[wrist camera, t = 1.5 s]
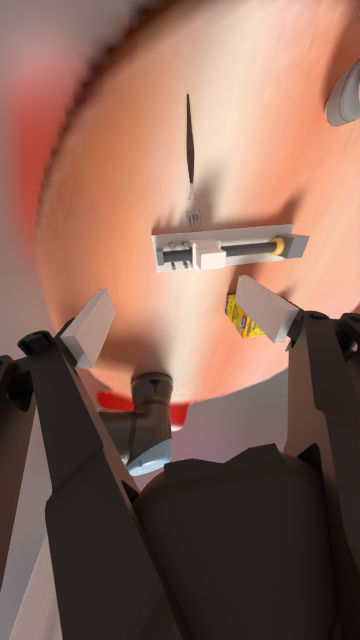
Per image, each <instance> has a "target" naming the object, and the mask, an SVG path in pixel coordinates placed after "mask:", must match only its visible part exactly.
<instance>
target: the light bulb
mask: <svg viewBox="0 0 360 640" xmlns="http://www.w3.org/2000/svg"><path fill="white" fill-rule="evenodd" d="M324 113H325V117H326V119H327V120H328V122H329V124H330V125H331V126H334V127H338V126H342V125H344V124H347V123H350V122H352V121H355V120H356V119H358V118H359V117H360V59H359V60H358V61H357V62H356V63H355V64H353V65H352V66H351V67H350V68H349V69H348V70H347V71H346V72H345V73H344V74H343V75H342V76H341V77H340V78H339V80H338V81H337V83H336V84H335V86H334V88H333V90H332V92H331V94H330V97H329V100H328V102H327V104H326V107H325V112H324Z"/></svg>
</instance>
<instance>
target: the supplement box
mask: <svg viewBox="0 0 360 640" xmlns="http://www.w3.org/2000/svg"><path fill="white" fill-rule="evenodd" d="M235 296H236V293H234V294H227V303H226V310H225V313H226V315H227V316H228V318H229V319H230V321H231V322H232V324H233V325H234V326H235V328H236V329H237V330H238V332H239V333H240V335H241V336H242V338H250V337H256V336H264V335H266V334H265V333H264V332H263V331H262V330H261V329H260V328H259V327H258V326H257V325H256V324H255V323H254V321H253V320H252V319H251V318H250V317H249V316H248V315H247V314H246V313H245V312H244V311H243V310H242V309H241V307H240V306H239V305H238V304H237V303H236V302H235Z"/></svg>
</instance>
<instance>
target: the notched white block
mask: <svg viewBox="0 0 360 640" xmlns="http://www.w3.org/2000/svg"><path fill="white" fill-rule="evenodd" d="M188 242H189V249H192V260H189V264H190V266H191V267H192V269H193V270H194V269H200V270H206V269H216V268H225V259H226V252H225V251H223V250H221V249H220V248H221V241H219V240H216V239H214V238H212V239H200V240H189V241H188Z"/></svg>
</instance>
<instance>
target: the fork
mask: <svg viewBox="0 0 360 640" xmlns="http://www.w3.org/2000/svg"><path fill="white" fill-rule="evenodd" d="M187 162H188V170H189V178H190V186H191V193H190V196H189V200H194V199H196V197H195V195H194V192H193V175H194V146H193V136H192V126H191V115H190V103H189V94H187ZM196 214H197V215H198V220H199V225H200V211H199V210H192V211H186V216H187V221H188V226H189V215H190V217H191V222H192V227H193V218H192V215H194V218H195V224H196V228H197V222H196ZM200 229H201V225H200ZM193 230H194V229H193ZM189 231H190V226H189Z"/></svg>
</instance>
